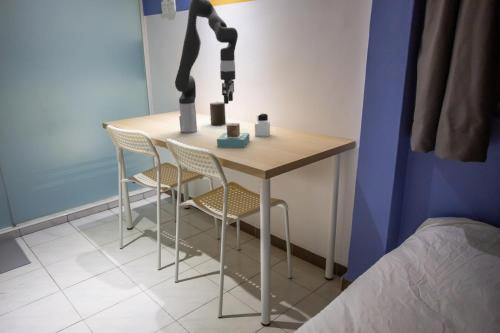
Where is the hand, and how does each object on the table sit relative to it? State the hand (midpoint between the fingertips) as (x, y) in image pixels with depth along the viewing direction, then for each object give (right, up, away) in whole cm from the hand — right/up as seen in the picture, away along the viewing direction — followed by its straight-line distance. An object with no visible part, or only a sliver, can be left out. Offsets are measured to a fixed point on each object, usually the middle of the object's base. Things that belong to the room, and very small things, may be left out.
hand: (228, 102), depth 192 cm
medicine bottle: (+18, -15, +20) cm, 31 cm away
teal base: (+3, -21, +3) cm, 21 cm away
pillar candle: (-10, -5, +52) cm, 53 cm away
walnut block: (+2, -17, +2) cm, 17 cm away
